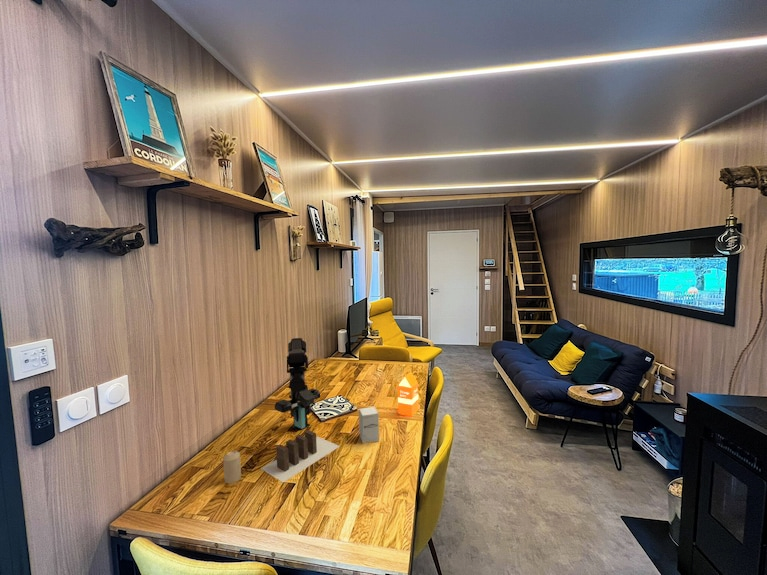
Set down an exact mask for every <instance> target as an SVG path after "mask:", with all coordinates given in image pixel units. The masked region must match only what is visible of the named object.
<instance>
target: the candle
mask: <svg viewBox="0 0 767 575" xmlns="http://www.w3.org/2000/svg"><path fill="white" fill-rule="evenodd" d="M222 462H223V463H222V465H223V477H224V478H223V479H224V483H226V484H229V485H230V484H234V483H237V482H238V481H240V480H241V478H242V466H241V465H242V463H241V453H240V452H239V451H237V450H236V449H235V450H232V451H230V452H227V453H226V454H225V455H224V456H223V457H222Z"/></svg>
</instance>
